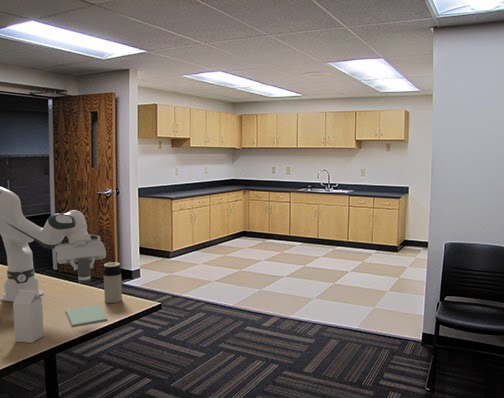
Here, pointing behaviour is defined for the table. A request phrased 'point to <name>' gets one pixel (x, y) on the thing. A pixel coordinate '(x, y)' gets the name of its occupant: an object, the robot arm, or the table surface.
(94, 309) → the sage green mat
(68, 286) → the table surface
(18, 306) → the milk carton
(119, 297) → the travel mug
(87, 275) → the cylinder
